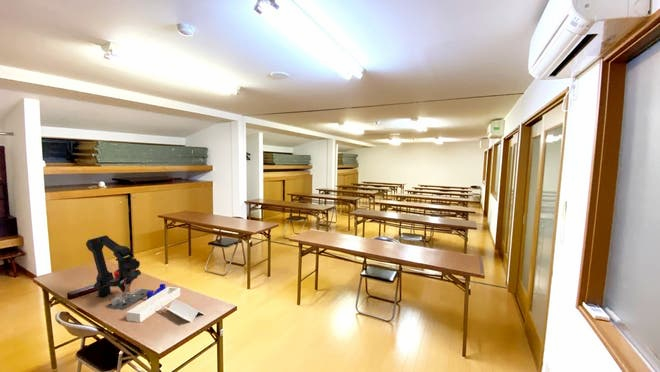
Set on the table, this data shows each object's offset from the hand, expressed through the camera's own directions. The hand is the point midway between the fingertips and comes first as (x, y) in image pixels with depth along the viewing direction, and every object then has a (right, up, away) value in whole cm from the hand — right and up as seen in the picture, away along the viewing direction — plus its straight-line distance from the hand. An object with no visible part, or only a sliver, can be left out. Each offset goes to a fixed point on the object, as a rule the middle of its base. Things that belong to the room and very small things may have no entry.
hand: (125, 290), depth 175 cm
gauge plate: (+3, -6, +1) cm, 7 cm away
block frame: (+24, -7, -7) cm, 26 cm away
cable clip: (+16, -6, +6) cm, 18 cm away
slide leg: (+2, -4, 0) cm, 5 cm away
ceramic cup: (-20, -4, +25) cm, 32 cm away
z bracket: (+45, -9, -14) cm, 47 cm away
